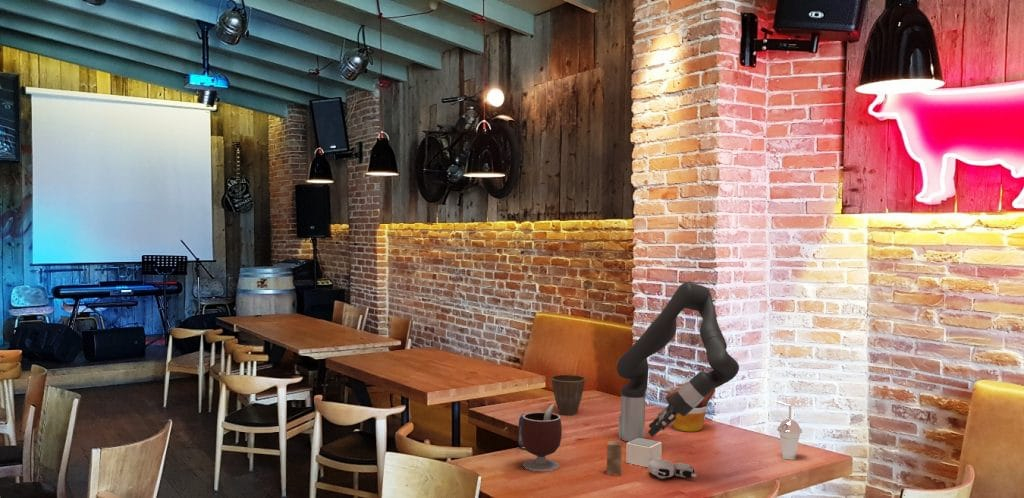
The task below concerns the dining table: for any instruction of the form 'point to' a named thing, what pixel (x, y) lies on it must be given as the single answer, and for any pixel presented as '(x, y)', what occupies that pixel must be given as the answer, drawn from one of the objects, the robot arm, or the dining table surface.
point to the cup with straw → (789, 436)
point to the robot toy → (670, 469)
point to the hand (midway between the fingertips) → (650, 431)
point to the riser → (643, 451)
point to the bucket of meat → (690, 413)
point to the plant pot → (568, 392)
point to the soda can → (520, 431)
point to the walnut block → (614, 457)
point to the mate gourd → (541, 438)
